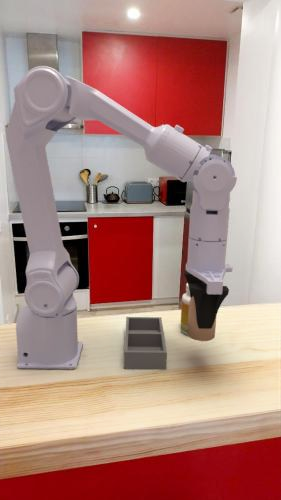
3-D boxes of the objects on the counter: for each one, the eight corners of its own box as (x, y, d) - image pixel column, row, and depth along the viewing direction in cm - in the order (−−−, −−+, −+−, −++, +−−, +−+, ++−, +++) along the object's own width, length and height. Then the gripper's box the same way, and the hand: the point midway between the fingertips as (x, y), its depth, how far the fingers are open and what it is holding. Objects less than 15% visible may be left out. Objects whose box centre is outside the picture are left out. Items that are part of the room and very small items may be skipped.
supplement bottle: (207, 338, 68) (210, 290, 66) (178, 335, 69) (181, 288, 67) (208, 326, 73) (211, 281, 71) (181, 323, 74) (183, 278, 72)
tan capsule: (189, 340, 56) (192, 297, 54) (185, 328, 61) (187, 287, 59) (217, 341, 56) (220, 298, 55) (211, 328, 61) (214, 288, 59)
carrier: (124, 368, 58) (124, 352, 57) (126, 330, 71) (126, 316, 70) (166, 369, 58) (166, 352, 57) (160, 331, 71) (161, 317, 70)
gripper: (248, 250, 47) (239, 343, 51) (222, 229, 62) (216, 303, 65) (195, 249, 47) (189, 342, 51) (181, 228, 61) (177, 302, 65)
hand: (201, 320), depth 58 cm, fingers closed on tan capsule, 4 cm apart
